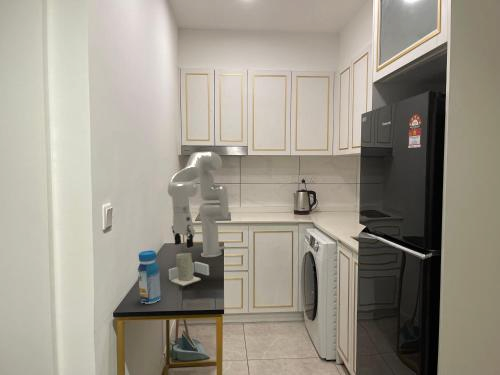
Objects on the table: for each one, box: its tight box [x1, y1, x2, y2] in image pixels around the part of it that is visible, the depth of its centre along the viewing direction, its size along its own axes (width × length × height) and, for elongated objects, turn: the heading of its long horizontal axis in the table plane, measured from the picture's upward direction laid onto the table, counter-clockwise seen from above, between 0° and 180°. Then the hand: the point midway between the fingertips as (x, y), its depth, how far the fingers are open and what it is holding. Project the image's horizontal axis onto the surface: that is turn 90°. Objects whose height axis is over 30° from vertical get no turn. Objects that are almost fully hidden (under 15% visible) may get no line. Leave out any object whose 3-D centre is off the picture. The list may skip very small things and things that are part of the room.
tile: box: [170, 275, 201, 287], centre depth 161 cm, size 10×10×1 cm
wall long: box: [168, 262, 195, 281], centre depth 168 cm, size 14×1×5 cm, turn 136°
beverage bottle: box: [137, 249, 162, 305], centre depth 138 cm, size 8×8×20 cm
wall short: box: [193, 261, 210, 276], centre depth 171 cm, size 1×10×5 cm, turn 46°
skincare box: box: [175, 252, 195, 281], centre depth 161 cm, size 6×4×12 cm
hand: (184, 245), depth 161 cm, fingers open, 9 cm apart
